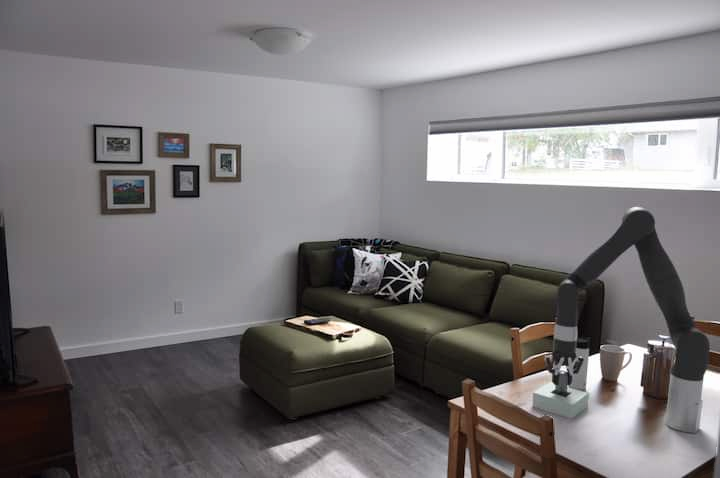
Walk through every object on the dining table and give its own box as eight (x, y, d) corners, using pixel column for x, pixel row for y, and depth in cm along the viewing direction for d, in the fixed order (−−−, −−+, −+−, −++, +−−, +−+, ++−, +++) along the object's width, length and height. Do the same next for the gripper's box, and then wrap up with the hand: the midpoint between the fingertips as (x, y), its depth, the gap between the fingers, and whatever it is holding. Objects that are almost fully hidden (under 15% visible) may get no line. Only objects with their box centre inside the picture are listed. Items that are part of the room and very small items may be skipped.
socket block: (587, 406, 196) (588, 393, 195) (571, 418, 186) (573, 404, 185) (549, 395, 205) (550, 382, 205) (532, 406, 195) (533, 392, 194)
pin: (568, 399, 195) (570, 372, 194) (563, 403, 192) (565, 375, 191) (557, 396, 198) (559, 369, 197) (552, 399, 195) (554, 372, 194)
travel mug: (589, 392, 209) (593, 340, 207) (571, 391, 209) (575, 340, 207) (582, 385, 215) (587, 335, 213) (565, 385, 215) (569, 335, 213)
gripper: (580, 334, 196) (576, 380, 198) (541, 333, 196) (537, 380, 198) (590, 340, 189) (586, 389, 191) (549, 340, 188) (545, 388, 190)
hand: (561, 384), depth 194 cm, fingers closed on pin, 4 cm apart
